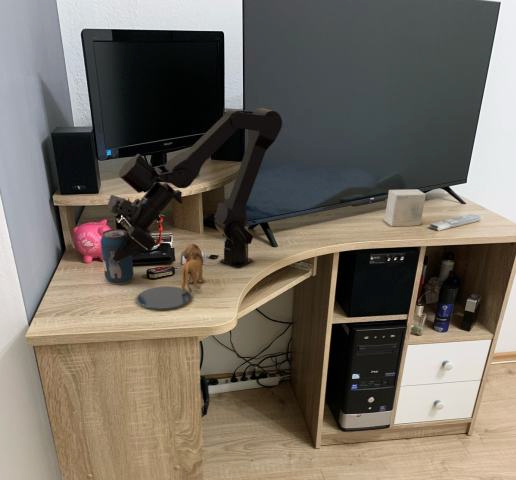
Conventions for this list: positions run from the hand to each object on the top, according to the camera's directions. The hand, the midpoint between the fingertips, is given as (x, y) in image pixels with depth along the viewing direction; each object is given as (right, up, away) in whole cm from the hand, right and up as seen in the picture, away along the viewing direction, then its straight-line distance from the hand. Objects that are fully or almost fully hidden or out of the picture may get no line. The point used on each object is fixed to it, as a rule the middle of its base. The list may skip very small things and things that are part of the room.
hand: (111, 255), depth 130 cm
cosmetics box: (+83, +19, +50) cm, 99 cm away
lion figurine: (+19, -7, +1) cm, 21 cm away
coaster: (+14, -11, -5) cm, 18 cm away
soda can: (+1, -6, +4) cm, 7 cm away
